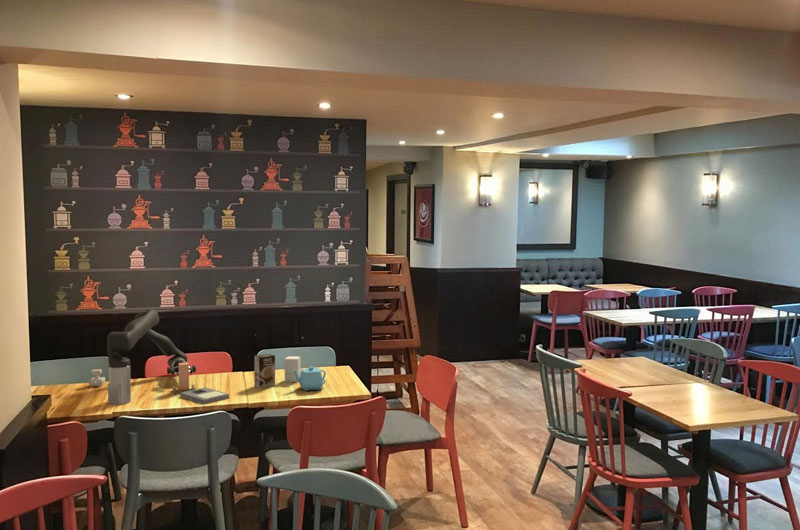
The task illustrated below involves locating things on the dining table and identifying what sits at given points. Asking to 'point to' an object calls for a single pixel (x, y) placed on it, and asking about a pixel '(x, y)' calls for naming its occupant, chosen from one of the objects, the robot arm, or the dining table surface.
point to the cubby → (182, 390)
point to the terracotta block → (183, 376)
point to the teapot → (310, 378)
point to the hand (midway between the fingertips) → (182, 372)
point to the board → (204, 395)
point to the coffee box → (264, 371)
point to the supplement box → (292, 368)
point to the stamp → (97, 378)
